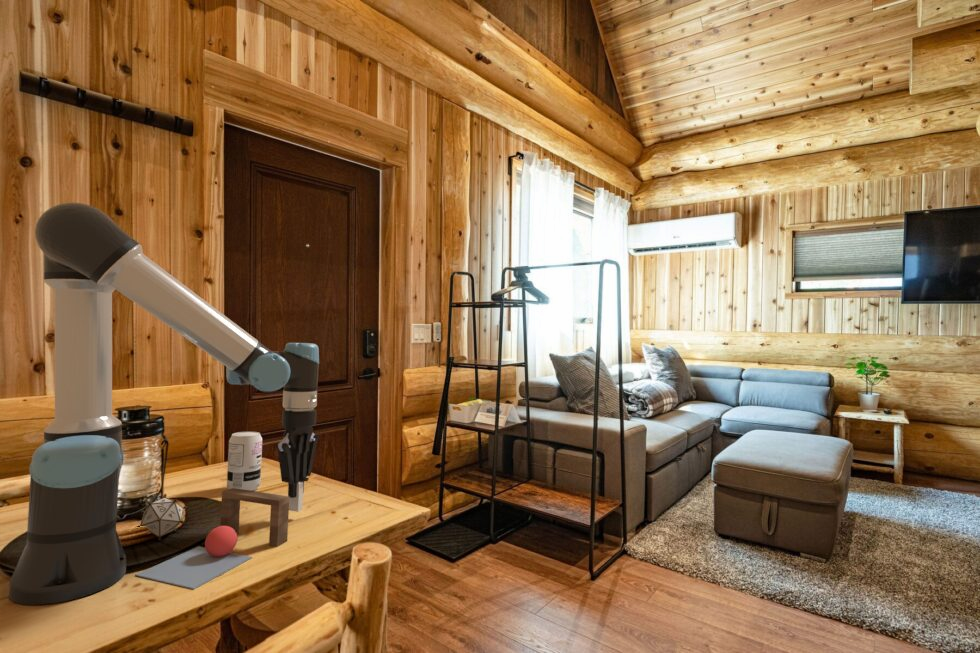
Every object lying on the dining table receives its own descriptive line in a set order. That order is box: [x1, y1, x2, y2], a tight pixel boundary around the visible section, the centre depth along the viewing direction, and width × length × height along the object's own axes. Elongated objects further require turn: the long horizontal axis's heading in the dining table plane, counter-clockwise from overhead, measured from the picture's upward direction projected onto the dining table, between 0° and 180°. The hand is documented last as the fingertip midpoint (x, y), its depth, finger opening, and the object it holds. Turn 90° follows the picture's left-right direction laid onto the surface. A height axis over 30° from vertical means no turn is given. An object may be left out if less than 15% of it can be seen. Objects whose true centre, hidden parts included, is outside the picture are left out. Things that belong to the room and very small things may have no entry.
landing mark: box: [135, 545, 253, 590], centre depth 92 cm, size 13×13×1 cm
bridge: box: [219, 488, 290, 547], centre depth 106 cm, size 3×14×9 cm, turn 73°
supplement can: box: [226, 431, 263, 491], centre depth 139 cm, size 8×8×15 cm
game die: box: [136, 493, 188, 541], centre depth 105 cm, size 9×8×10 cm
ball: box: [204, 525, 238, 557], centre depth 97 cm, size 6×6×6 cm
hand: (295, 509), depth 118 cm, fingers closed
